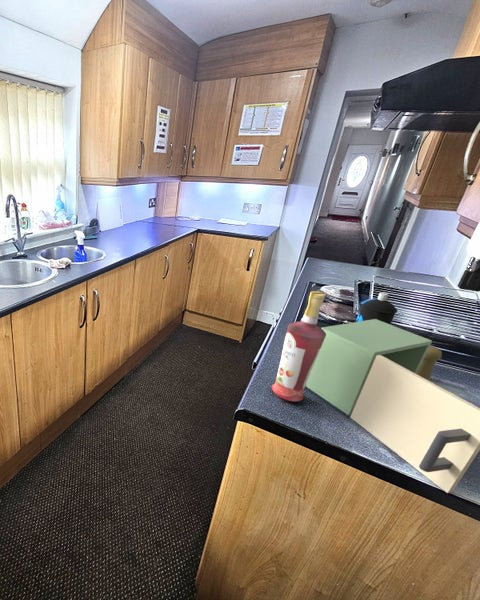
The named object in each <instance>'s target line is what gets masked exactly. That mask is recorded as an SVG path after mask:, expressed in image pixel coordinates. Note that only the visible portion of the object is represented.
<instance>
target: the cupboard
mask: <svg viewBox="0 0 480 600" xmlns="http://www.w3.org/2000/svg"><path fill="white" fill-rule="evenodd" d="M321 328H322V329H323V331H324V332H325V333H326V337H325V339H324V341H323V344H322V346H321V349H320V352H319V354H318V356H317V359H316V361H315V363H314V365H313V368H312V370H311V373H310V375H309V378H308V380H307V383H306V385H305V388H308V389H309V390H310V391H312V392H313V393H315V394H317V395H318V396H319V397H321V398H322V399H324V400H325V401H327V402H328V403H329V404H331V405H333V406H334V407H336V408H337V409H339V410H340V411H341V412H343V413H344V414H346V415H347V416H351V414H352V412H353V410H354V407H355V405H356V403H357V400H358V398H359V396H360V393H361V391H362V389H363V386H364V384H365V382H366V379H367V377H368V375H369V372H370V370H371V367H372V365H373V363H374V360H375V358H376V356H377V355H381V356H383V357H385V358H387V359H389V360H391V361H393V362H395V363H396V364H398V365H400V366H402V367H404V368H406V369H408V370H409V371H411V372H413V373H415V374H417V372H418V370H419V368H420V365H421V363H422V361H423V359H424V357H425V355H426V353H427V351H428V349H429V347H430V345H431V346H432V342H433V340H431V339H429V338H426V337H424V336H421V335H418V334H416V333H414V332H411V331H408V330H405V329H403V328H401V327H397V326H395V325H392V324H387V323H385V322H382V321H379V320H377V319H372V320H366V321H360V322H355V321H354V322H348V323H342V324H336V325H330V326H323V327H321Z"/></svg>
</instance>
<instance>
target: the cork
mask: <svg viewBox="0 0 480 600" xmlns="http://www.w3.org/2000/svg"><path fill="white" fill-rule="evenodd" d="M442 357H443V352H442V350H441V349H440V348H439V347H437V346H434V345H432V344H431V345H430V347H429V349H428V351H427V353H426V355H425V357H424V359H423V361H422V363H421V365H420V368H419V370H418V372H417V375H419V376H421V377H423V378H424V379H426V380H428V381H430V382H431V379H432V375H433V372H434V368H435V365H436V362H438V361H440V359H442Z"/></svg>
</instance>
